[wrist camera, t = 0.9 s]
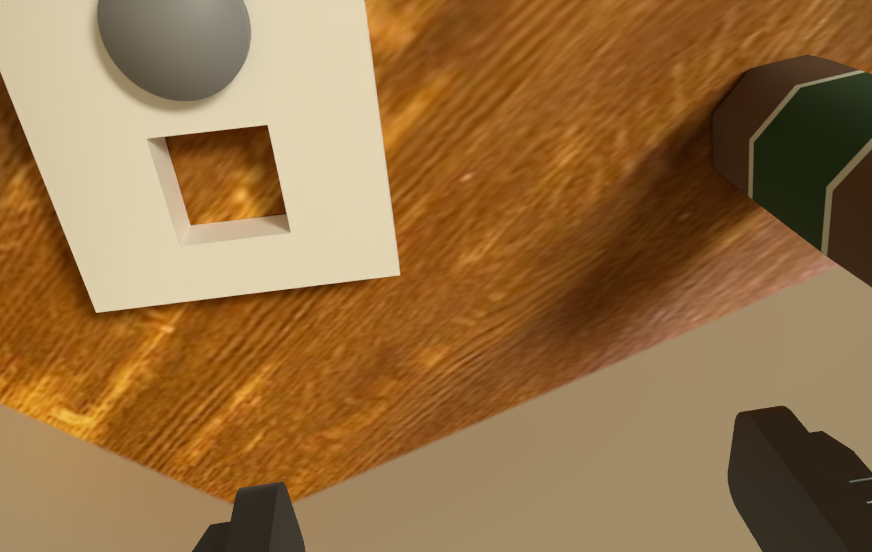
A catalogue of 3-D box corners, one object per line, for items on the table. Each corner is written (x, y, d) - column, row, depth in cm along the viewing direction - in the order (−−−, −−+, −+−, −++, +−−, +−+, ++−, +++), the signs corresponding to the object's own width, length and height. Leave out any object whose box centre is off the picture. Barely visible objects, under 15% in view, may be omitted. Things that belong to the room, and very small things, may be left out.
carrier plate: (-26, -75, 29) (-72, -72, 26) (350, -113, 29) (348, -114, 26) (111, 288, 38) (89, 323, 34) (397, 253, 38) (400, 284, 35)
